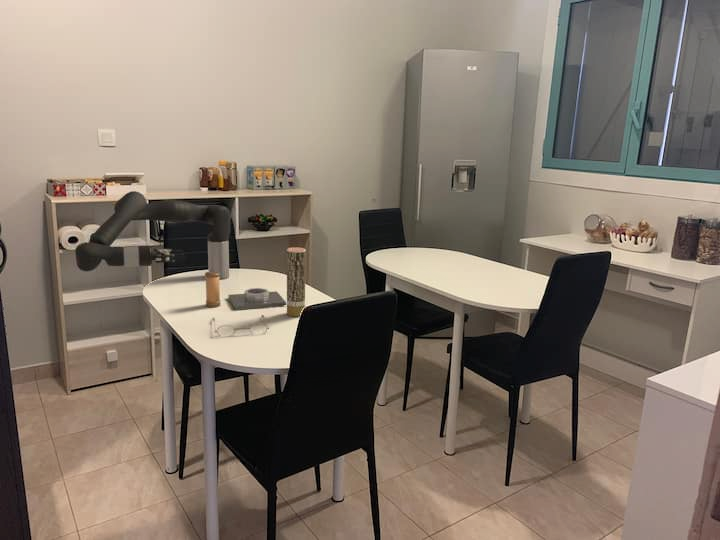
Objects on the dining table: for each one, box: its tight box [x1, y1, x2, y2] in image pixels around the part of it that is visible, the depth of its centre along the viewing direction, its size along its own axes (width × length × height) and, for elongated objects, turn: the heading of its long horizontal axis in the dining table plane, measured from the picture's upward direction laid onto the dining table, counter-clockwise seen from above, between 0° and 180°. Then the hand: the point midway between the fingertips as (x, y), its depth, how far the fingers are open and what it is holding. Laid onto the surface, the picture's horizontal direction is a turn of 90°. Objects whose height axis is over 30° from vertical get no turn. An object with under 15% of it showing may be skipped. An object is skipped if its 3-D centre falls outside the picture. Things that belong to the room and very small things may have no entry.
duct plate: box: [227, 287, 287, 311], centre depth 225 cm, size 16×20×4 cm
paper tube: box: [286, 246, 307, 317], centre depth 209 cm, size 7×7×25 cm
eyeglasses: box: [213, 314, 270, 336], centre depth 198 cm, size 18×19×4 cm
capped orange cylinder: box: [204, 271, 221, 308], centre depth 218 cm, size 5×5×13 cm
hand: (184, 255), depth 210 cm, fingers open, 8 cm apart
